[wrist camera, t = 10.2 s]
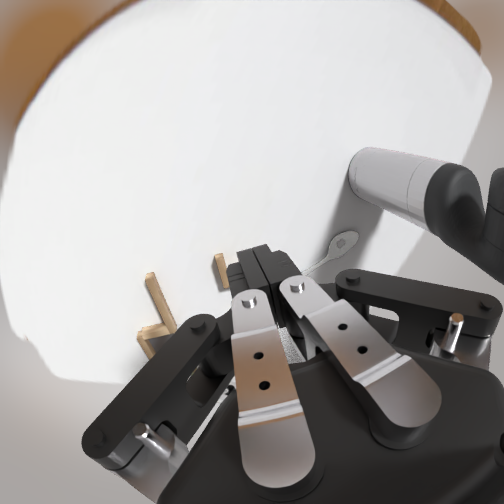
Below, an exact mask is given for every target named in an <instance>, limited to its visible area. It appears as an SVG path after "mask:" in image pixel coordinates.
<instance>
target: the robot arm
mask: <svg viewBox="0 0 504 504" xmlns="http://www.w3.org/2000/svg"><path fill="white" fill-rule="evenodd" d="M349 182H350V186H351V188H352V190H353V192H354V193H355V194H356V195H357V196H358V197H360V198H361V199H363V200H366V201H368V202H370V203H372V204H374V205H376V206H378V207H381V208H383V209H385V210H387V211H389V212H391V213H393V214H395V215H397V216H399V217H401V218H403V219H405V220H407V221H409V222H411V223H413V224H415V225H417V226H419V227H421V228H423V229H425V230H427V231H429V232H431V233H433V234H434V235H436V236H438V237H439V238H440V239H441V240H442V241H443V242H444V243H445V244H446V245H448V246H449V247H451V248H453V249H454V250H455V251H457V252H459V253H460V254H461V255H463V256H464V257H466V258H467V259H469V260H470V261H471V262H473V263H474V264H475V265H477V266H478V267H479V268H481V269H482V270H483V271H485V272H486V273H487V274H489V275H490V276H491V277H493V278H494V279H495V280H497V281H498V282H500V283H502V284H503V285H504V168H499V169H497V170H495V171H494V172H493V174H492V177H491V181H490V188H489V195H488V203H487V209H486V215H485V211H484V208H483V202H482V196H481V191H480V186H479V183H478V181H477V179H476V177H475V175H474V174H473V173H472V171H470V170H469V169H468V168H466V167H464V166H461V165H457V164H454V163H450V162H446V161H442V160H437V159H433V158H428V157H424V156H419V155H414V154H409V153H404V152H398V151H393V150H387V149H381V148H374V147H367V148H364V149H362V150H360V151H359V152H358V153H357V154H356V155H355V156H354V158H353V159H352V161H351V164H350V167H349ZM237 257H238V260H239V262H237V263H233V264H230V265H228V268H227V270H226V274H227V278H228V282H229V287H230V291H231V295H232V301H231V309H230V310H229V311H228V312H227V313H225V314H224V315H222V316H221V317H219V318H217V319H215V317H213V316H212V315H209V314H199V315H195V316H193V317H191V318H189V319H188V320H186V321H185V322H184V323H183V324H182V325H181V326H180V328H179V329H178V330H177V331H176V332H175V333H174V334H173V335H172V336H171V337H170V338H169V340H168V341H167V342H166V343H165V344H164V345H163V346H162V347H161V348H160V349H159V350H158V352H157V353H156V354H155V355H154V356H153V357H152V358H151V359H150V360H149V361H148V362H147V364H146V365H145V366H144V367H143V368H142V369H141V370H140V371H139V372H138V373H137V374H136V376H135V377H134V378H133V379H132V380H131V381H130V382H129V383H128V384H127V385H126V386H125V388H124V389H123V390H122V391H121V392H120V393H119V394H118V395H117V396H116V397H115V399H114V400H113V401H112V402H111V403H110V404H109V405H108V406H107V407H106V409H104V411H103V412H102V413H101V414H100V415H99V416H98V417H97V418H96V419H95V421H94V422H93V423H92V424H91V425H90V426H89V427H88V428H87V429H86V431H85V432H84V434H83V437H82V448H83V451H84V452H85V454H86V455H88V456H89V457H90V458H92V459H93V460H95V461H96V462H98V463H99V464H101V465H102V466H103V467H104V468H105V469H107V470H109V471H110V472H112V473H114V474H115V475H117V476H118V477H120V478H122V479H124V480H125V481H127V482H128V483H129V484H130V485H131V486H133V487H134V488H135V489H137V490H138V491H139V492H140V493H142V494H143V495H145V496H146V497H147V498H149V499H150V500H151V501H153V502H154V503H156V504H504V388H503V385H502V384H501V382H500V381H499V379H498V378H497V377H496V376H495V375H494V374H492V373H491V372H489V363H490V352H491V338H492V336H493V334H494V331H495V329H496V327H497V325H498V322H499V319H500V317H501V314H502V311H503V308H502V305H501V303H500V301H499V300H498V299H497V298H495V297H494V296H491V295H489V294H484V293H479V292H474V291H469V290H464V289H458V288H453V287H448V286H443V285H437V284H432V283H427V282H422V281H417V280H412V279H407V278H402V277H396V276H391V275H386V274H381V273H376V272H370V271H365V270H360V269H348V270H345V271H342V272H340V273H339V274H338V275H337V276H336V283H329V284H317V283H316V282H315V281H314V280H313V279H312V278H310V277H308V276H303V275H302V274H301V272H300V271H299V269H298V268H297V267H296V265H295V264H294V263H293V261H292V260H291V259H290V257H289V256H288V255H287V253H284V252H282V251H280V250H278V251H275V252H271V250H270V249H269V247H268V246H267V244H264V245H260V246H257V247H253V248H252V249H251V248H250V249H246V250H243V251H239V252H237ZM369 305H370V306H374V307H378V308H382V309H387V310H391V311H394V312H395V313H397V315H398V316H399V321H394V320H390V319H386V318H382V317H378V316H374V315H370V314H369ZM277 323H278V325H279V328H283V327H286V328H287V330H288V335H289V340H290V342H291V343H292V345H293V347H294V348H295V350H296V352H297V353H298V355H299V357H300V358H301V360H302V362H301V363H293V364H288V362H287V358H286V355H285V352H284V349H283V345H282V342H281V339H280V335H279V332H278V325H277ZM197 366H199V367H198V368H197ZM196 368H197V370H196V371H195V372H194V374H193V375H192V376H191V377H190V379H189V380H188V378H189V376H190V375H191V374H192V373H193V371H194V370H195V369H196ZM234 376H235V381H236V389H235V390H234V391H232V392H231V393H230V394H229V395H228V396H227V397H226V398H225V399H224V400H223V401H222V403H221V404H220V406H219V407H218V409H217V410H216V412H215V414H214V415H213V417H212V419H211V420H210V421H209V423H208V425H207V426H206V428H205V430H204V431H203V432H202V434H201V435H200V437H199V438H198V440H197V441H196V443H195V445H194V446H193V448H192V449H191V451H190V452H189V451H188V448H187V446H186V445H187V444H188V442H189V441H190V439H191V438H192V437H193V435H194V434H195V433H196V431H197V430H198V428H199V427H200V426H201V424H202V423H203V421H204V420H205V419H206V417H207V416H208V414H209V413H210V411H211V410H212V408H213V407H214V406H215V404H216V403H217V401H218V400H219V398H220V397H221V395H222V394H223V392H224V391H225V389H226V388H227V386H228V385H229V383H230V382H231V380H232V379H233V377H234ZM187 380H188V381H187Z"/></svg>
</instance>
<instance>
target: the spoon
mask: <svg viewBox="0 0 504 504" xmlns="http://www.w3.org/2000/svg"><path fill="white" fill-rule="evenodd" d="M358 238H359V234H358V233H357V232H355V231H347V232H343V233H340V234H339V235H337V236H335V237H334V238H333V240H332V241H331V243H330V245H329V251H328V255H327V256H326V257H325V258H324V259H323V260H321V261H320V262H318V263H317V264H315V265H314V266H312V267H310V268H309V269H307V270H305V271H303V272H301V274H302V275H303V276H306V275H308V274H309V273H310V272H312V271H313V270H315V269H316V268H317V267H319V266H321V265H322V264H324V263H326V262H327V261H329V260H331V259H334V258H339V257H341V256H342V255H344V254H345V253H346V252H347V251H349V250H350V249H351V248H352V247H353V246H354V245H355V244H356V242H357V241H358ZM341 239H343V240H345V244H344V245H343V246H342V248H339V247H337V242H338V241H339V240H341Z"/></svg>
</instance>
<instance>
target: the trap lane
mask: <svg viewBox="0 0 504 504" xmlns="http://www.w3.org/2000/svg"><path fill="white" fill-rule="evenodd" d="M215 259H216V263H217V266H218V270H219V273H220V276H221V280H222V283H223V286H224V289H225V288H228V287H229V282H228V278H227V274H226V270H227V268H226V264H225V261H224V257H223V254H222V253H220V254H216V255H215ZM145 281H146V284H147V286H148V288H149V291H150V293H151V295H152V297H153V299H154V302H155V304H156V306H157V308H158V310H159V312H160V314H161V317H162V319H163V321H164V323H160V324H156V325H152V326H148V327H143V328H142V331H138V334H137V340H138V342H139V343H140V345H141V347H142V348H143V350H144V352H145V353H146V355H147V357H148V358H149V360H150V359H151V358H152V357H153V356H154V355H155V354H156V353H157V352H158V350H159V349H160V348H161V347H162V346H163V345H164V344H165V343H166V342H167V341H168V340H169V338H170V337H171V336H172V335H173V334H174V333H175V332H176V331H177V325H176V323H175V320H174V318H173V316H172V314H171V312H170V309H169V307H168V305H167V303H166V300H165V298H164V296H163V293H162V291H161V289H160V286H159V284H158V282H157V279H156V277H155V274H154V272H152V273H148V274H147V275H146V278H145ZM196 370H197V368H196V369H195V370H194V371H193V373H192V374H191V376H192V375H193V374H194V372H195V371H196Z"/></svg>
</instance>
